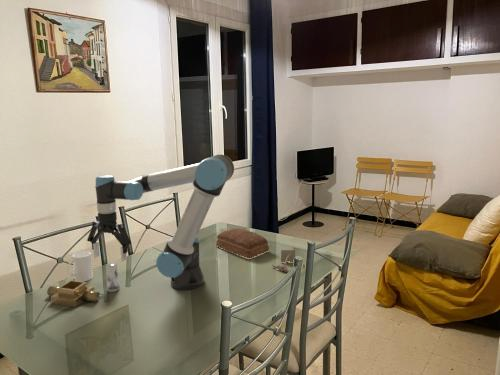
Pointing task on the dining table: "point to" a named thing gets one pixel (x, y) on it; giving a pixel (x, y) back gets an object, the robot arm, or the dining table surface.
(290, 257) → the decorative sculpture
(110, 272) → the pipe stub
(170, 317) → the dining table surface
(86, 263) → the mug
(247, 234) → the bread
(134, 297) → the dining table surface
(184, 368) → the dining table surface
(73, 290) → the valve body
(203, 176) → the robot arm
